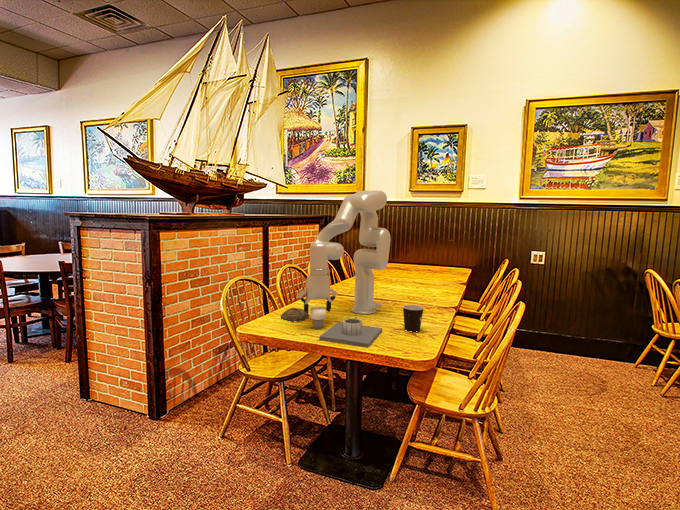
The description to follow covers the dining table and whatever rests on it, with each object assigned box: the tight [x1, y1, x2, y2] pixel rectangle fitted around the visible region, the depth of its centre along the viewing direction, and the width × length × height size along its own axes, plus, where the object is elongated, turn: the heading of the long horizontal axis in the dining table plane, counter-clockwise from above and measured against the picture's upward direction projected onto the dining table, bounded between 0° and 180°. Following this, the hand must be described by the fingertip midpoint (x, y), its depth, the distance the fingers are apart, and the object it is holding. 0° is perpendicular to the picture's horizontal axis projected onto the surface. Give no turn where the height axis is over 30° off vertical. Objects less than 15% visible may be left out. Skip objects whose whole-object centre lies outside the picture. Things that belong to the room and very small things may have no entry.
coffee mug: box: [402, 304, 424, 333], centre depth 157 cm, size 12×9×10 cm
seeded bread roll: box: [280, 307, 310, 323], centre depth 174 cm, size 13×12×5 cm
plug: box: [310, 306, 327, 330], centre depth 159 cm, size 7×7×8 cm
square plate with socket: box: [319, 318, 383, 348], centre depth 150 cm, size 20×20×6 cm
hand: (317, 311), depth 158 cm, fingers open, 9 cm apart
